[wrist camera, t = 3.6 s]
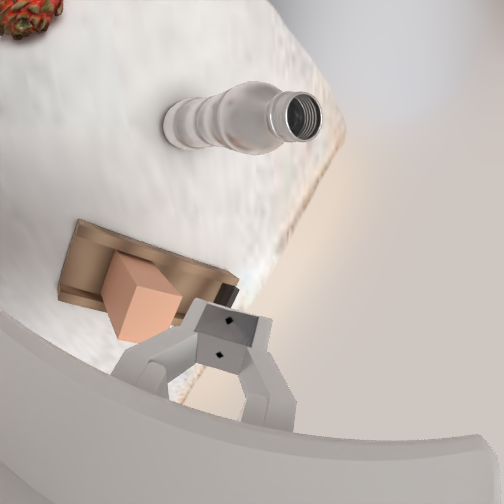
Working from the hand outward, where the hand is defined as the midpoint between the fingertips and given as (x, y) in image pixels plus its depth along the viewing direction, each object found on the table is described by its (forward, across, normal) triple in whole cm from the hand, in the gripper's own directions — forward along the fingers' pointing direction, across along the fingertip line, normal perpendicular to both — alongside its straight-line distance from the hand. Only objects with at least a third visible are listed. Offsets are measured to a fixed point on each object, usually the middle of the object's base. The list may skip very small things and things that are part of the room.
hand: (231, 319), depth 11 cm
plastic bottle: (+26, +13, -2) cm, 29 cm away
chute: (+19, +14, +17) cm, 29 cm away
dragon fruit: (+13, +31, -18) cm, 38 cm away
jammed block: (+16, +16, +15) cm, 27 cm away
